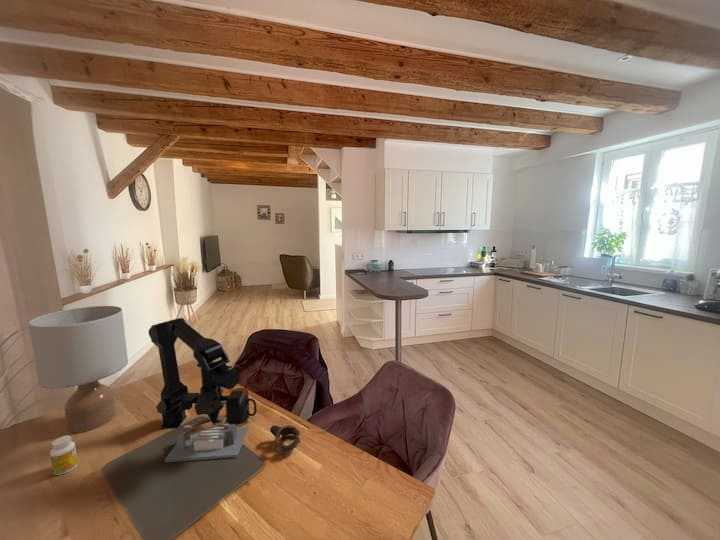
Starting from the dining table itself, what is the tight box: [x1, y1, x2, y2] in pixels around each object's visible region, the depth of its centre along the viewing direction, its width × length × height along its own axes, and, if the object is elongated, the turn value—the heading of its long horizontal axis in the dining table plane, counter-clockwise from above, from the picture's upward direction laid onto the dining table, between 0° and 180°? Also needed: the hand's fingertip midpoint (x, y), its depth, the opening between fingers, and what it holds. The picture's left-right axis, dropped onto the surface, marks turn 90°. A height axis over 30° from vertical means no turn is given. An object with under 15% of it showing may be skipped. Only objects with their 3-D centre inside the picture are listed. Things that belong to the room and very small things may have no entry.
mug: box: [225, 387, 258, 426], centre depth 112 cm, size 8×12×10 cm
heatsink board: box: [164, 423, 249, 463], centre depth 98 cm, size 22×13×6 cm, turn 96°
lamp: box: [28, 305, 129, 433], centre depth 107 cm, size 24×24×42 cm
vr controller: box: [269, 424, 301, 455], centre depth 99 cm, size 12×10×8 cm
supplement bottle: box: [49, 435, 79, 476], centre depth 88 cm, size 5×5×10 cm
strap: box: [180, 415, 227, 437], centre depth 98 cm, size 15×3×2 cm, turn 96°
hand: (214, 422), depth 98 cm, fingers closed
